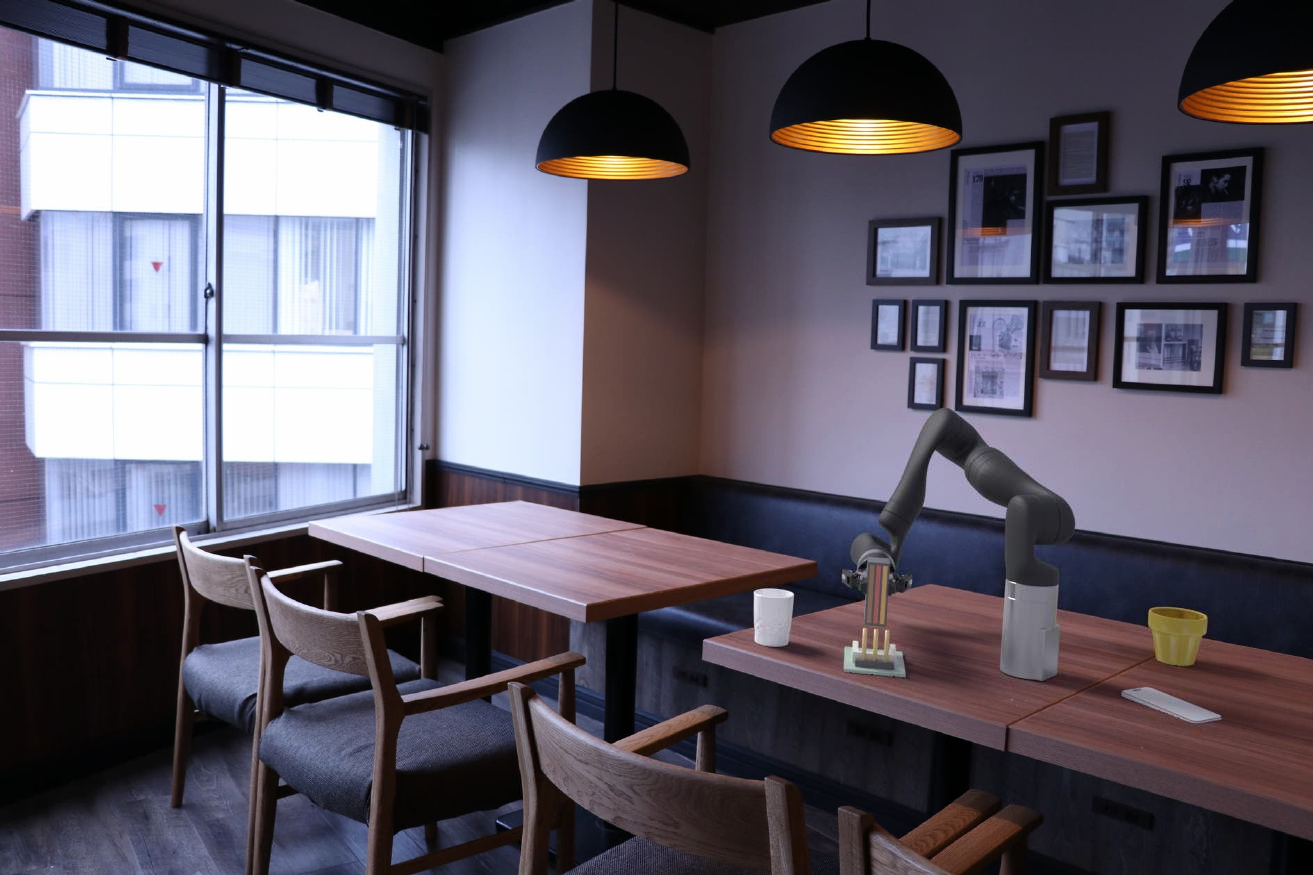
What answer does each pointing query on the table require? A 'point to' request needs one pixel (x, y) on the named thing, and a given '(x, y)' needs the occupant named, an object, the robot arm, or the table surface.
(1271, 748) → the table surface
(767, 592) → the white cup
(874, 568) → the block
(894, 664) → the header board
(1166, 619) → the plant pot
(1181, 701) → the smartphone
